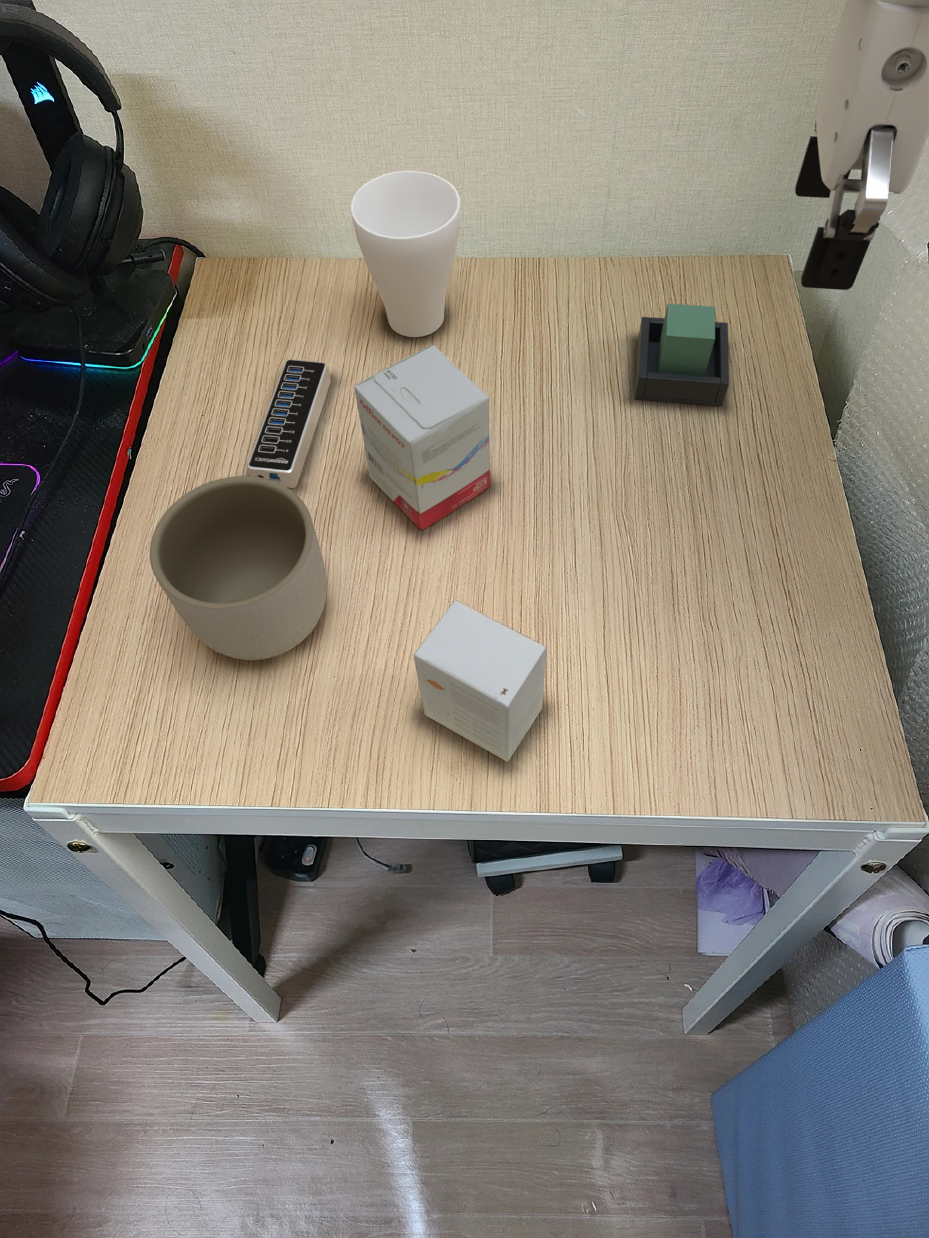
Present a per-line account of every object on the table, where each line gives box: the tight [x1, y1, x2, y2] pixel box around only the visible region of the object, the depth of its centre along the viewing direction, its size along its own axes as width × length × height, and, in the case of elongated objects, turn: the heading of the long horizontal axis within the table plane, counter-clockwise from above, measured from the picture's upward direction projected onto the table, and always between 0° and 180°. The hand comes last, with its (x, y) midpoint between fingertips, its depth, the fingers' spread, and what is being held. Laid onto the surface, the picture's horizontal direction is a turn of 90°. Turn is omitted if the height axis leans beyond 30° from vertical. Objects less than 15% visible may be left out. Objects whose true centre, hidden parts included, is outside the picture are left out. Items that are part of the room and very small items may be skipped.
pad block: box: [657, 303, 716, 376], centre depth 85 cm, size 4×4×6 cm
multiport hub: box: [246, 358, 332, 489], centre depth 85 cm, size 4×14×2 cm, turn 171°
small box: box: [413, 599, 547, 763], centre depth 65 cm, size 8×6×10 cm
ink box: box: [353, 344, 491, 531], centre depth 77 cm, size 9×9×12 cm
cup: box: [349, 170, 462, 338], centre depth 88 cm, size 10×10×14 cm
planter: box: [149, 475, 328, 661], centre depth 71 cm, size 12×12×11 cm
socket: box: [634, 316, 730, 407], centre depth 87 cm, size 9×9×3 cm
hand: (821, 238), depth 59 cm, fingers open, 9 cm apart
